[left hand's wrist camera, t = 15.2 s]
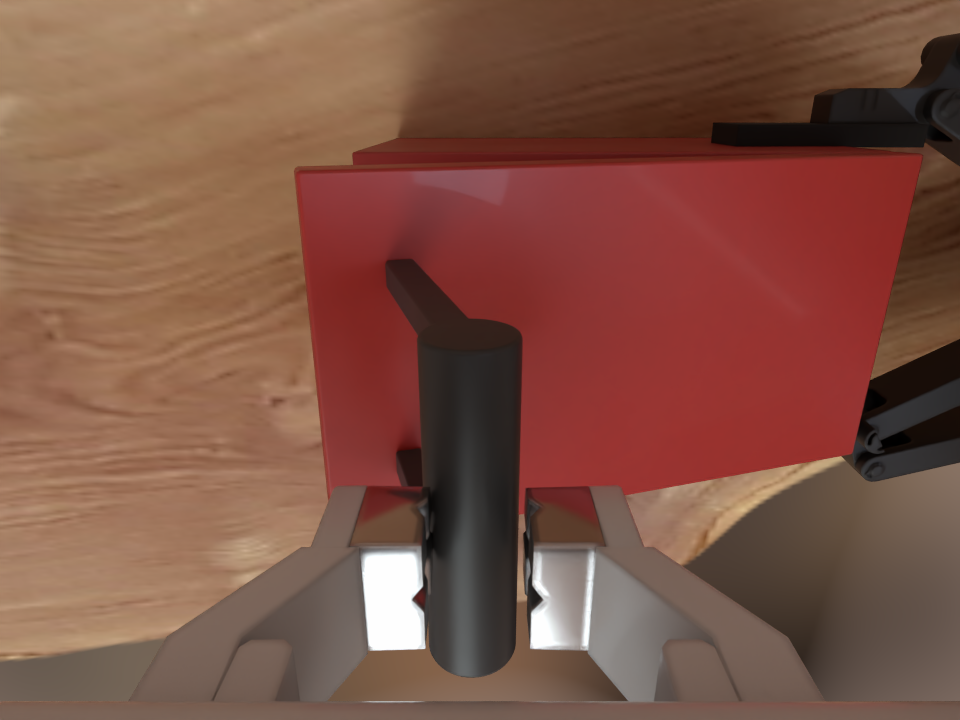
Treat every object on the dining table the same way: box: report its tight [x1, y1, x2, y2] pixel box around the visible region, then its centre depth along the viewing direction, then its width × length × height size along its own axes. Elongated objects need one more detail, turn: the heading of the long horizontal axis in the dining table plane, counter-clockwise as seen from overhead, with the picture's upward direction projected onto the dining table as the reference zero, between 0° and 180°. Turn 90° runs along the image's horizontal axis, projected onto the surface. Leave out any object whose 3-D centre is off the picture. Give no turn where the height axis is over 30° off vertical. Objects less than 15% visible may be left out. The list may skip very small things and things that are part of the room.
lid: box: [294, 152, 923, 678], centre depth 15 cm, size 18×10×8 cm, turn 90°
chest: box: [352, 138, 891, 165], centre depth 26 cm, size 17×10×10 cm, turn 90°
